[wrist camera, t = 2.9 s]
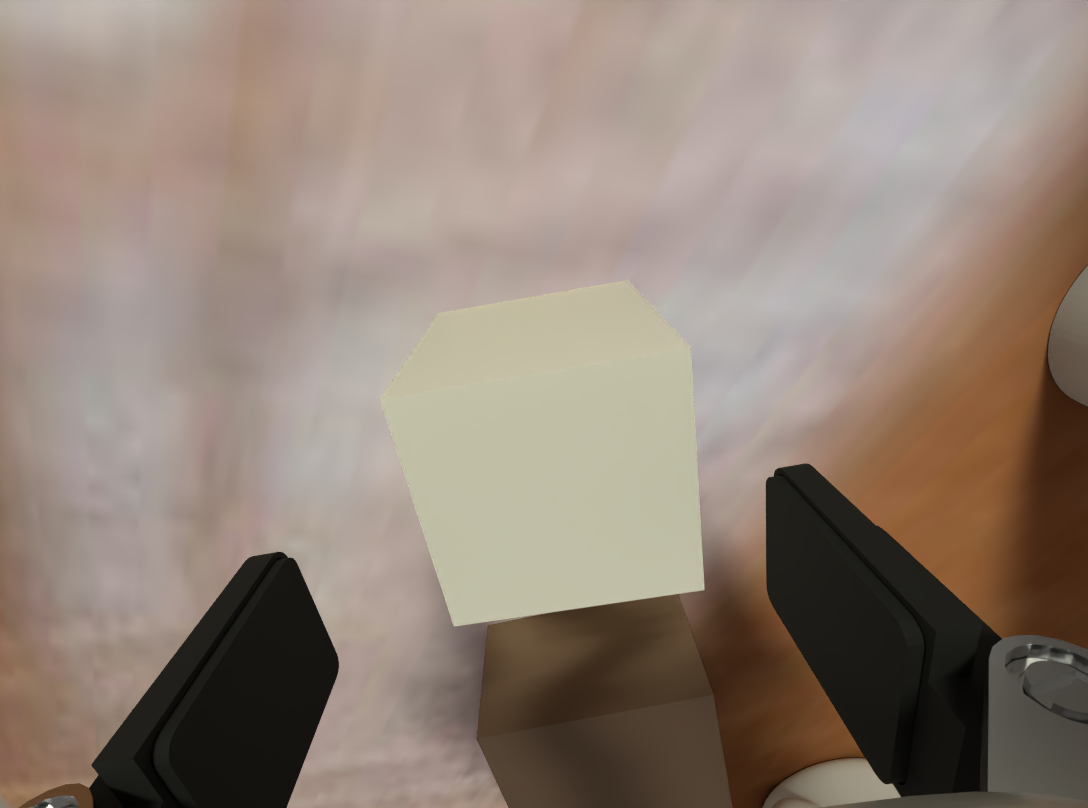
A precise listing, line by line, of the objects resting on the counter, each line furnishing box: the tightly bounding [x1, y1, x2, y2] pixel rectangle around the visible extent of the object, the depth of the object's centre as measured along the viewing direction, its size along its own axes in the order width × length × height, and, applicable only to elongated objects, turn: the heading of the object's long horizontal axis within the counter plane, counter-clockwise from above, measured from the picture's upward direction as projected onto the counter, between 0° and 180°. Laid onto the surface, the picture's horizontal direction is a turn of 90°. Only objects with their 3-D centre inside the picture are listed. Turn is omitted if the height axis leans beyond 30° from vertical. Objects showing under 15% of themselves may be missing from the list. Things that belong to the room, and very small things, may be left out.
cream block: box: [380, 280, 704, 626], centre depth 14 cm, size 6×6×7 cm
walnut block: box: [477, 594, 732, 808], centre depth 21 cm, size 8×8×5 cm
